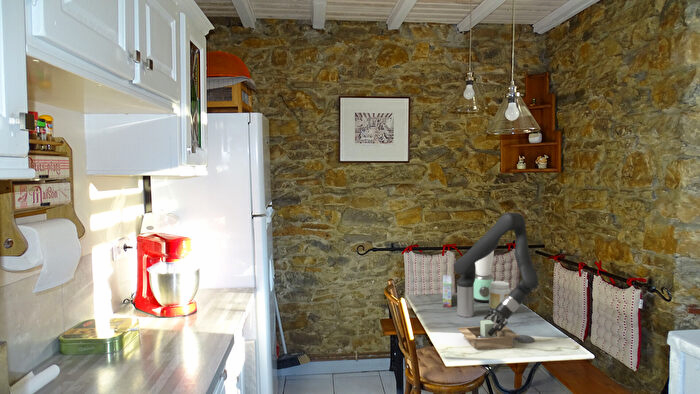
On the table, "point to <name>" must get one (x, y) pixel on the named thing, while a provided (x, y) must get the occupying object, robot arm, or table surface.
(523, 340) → the slate mat
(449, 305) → the snack box
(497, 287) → the supplement tub
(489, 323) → the box
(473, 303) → the robot arm
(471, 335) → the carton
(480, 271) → the mint green blender
